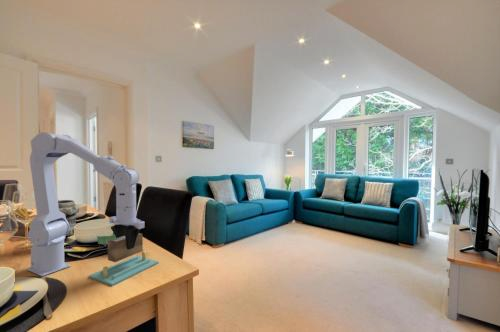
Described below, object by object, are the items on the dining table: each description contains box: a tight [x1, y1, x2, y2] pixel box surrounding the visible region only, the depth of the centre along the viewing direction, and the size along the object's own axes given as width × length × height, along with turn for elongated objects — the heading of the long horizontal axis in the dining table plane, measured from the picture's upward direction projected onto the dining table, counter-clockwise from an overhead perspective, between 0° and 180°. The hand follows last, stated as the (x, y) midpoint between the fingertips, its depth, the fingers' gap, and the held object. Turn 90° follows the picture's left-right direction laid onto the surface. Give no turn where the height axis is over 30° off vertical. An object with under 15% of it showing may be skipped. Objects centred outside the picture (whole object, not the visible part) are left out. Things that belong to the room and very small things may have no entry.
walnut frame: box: [107, 232, 144, 263], centre depth 78 cm, size 4×10×6 cm, turn 154°
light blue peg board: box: [88, 250, 159, 287], centre depth 78 cm, size 11×17×4 cm, turn 154°
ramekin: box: [96, 232, 116, 245], centre depth 102 cm, size 9×9×4 cm
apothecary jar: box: [58, 199, 80, 243], centre depth 100 cm, size 12×12×18 cm
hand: (126, 247), depth 78 cm, fingers closed on walnut frame, 3 cm apart
